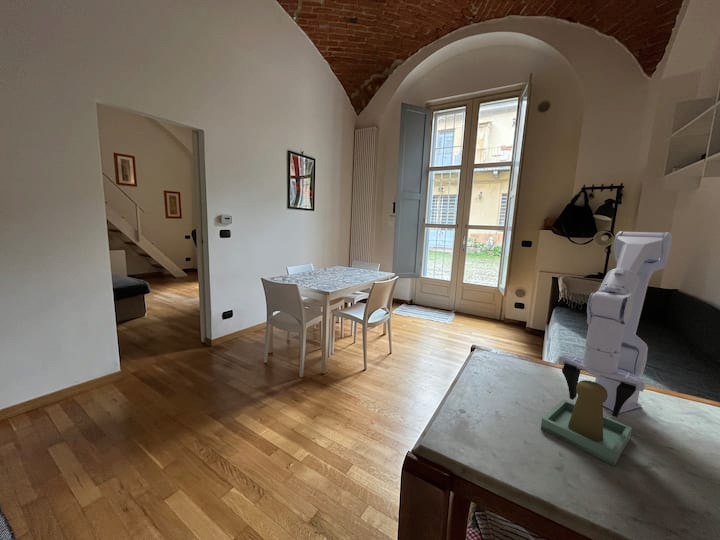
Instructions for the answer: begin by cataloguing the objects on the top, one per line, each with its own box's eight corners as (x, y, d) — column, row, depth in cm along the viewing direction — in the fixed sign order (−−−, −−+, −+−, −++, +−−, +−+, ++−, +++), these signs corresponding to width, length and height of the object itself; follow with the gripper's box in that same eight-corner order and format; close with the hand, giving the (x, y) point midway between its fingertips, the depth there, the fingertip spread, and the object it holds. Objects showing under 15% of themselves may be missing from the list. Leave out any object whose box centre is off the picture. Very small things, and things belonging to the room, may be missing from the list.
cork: (609, 436, 62) (617, 387, 60) (594, 445, 59) (602, 394, 57) (577, 419, 67) (583, 374, 65) (562, 427, 64) (568, 380, 63)
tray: (562, 408, 72) (563, 399, 72) (630, 438, 62) (632, 427, 62) (540, 428, 65) (542, 418, 64) (614, 466, 55) (616, 454, 54)
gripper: (556, 340, 66) (549, 396, 68) (645, 365, 55) (633, 431, 57) (568, 334, 70) (560, 386, 72) (652, 356, 59) (640, 417, 61)
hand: (593, 405), depth 65 cm, fingers open, 7 cm apart
